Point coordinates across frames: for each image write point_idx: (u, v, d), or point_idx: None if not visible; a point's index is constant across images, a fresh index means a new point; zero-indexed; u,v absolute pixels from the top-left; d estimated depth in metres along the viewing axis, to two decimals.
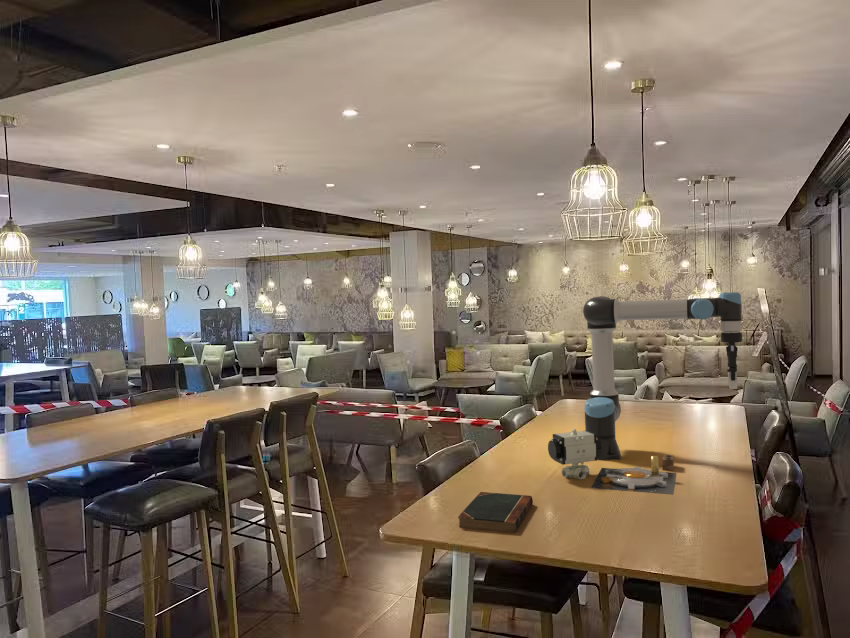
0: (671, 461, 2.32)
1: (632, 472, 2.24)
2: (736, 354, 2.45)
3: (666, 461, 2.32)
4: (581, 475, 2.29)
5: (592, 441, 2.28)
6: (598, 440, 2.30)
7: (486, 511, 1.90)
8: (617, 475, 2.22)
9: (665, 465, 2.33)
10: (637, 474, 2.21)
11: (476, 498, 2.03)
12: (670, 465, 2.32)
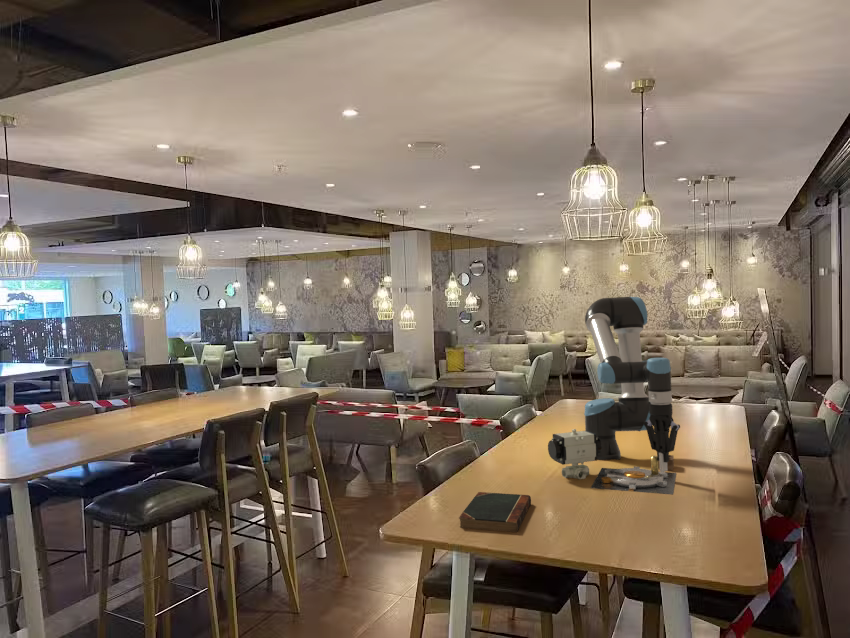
0: (671, 461, 2.32)
1: (632, 472, 2.24)
2: (654, 430, 2.21)
3: None
4: (581, 475, 2.29)
5: (592, 441, 2.28)
6: (598, 440, 2.30)
7: (487, 511, 1.90)
8: (617, 475, 2.22)
9: None
10: (637, 474, 2.21)
11: (475, 498, 2.03)
12: (670, 465, 2.32)
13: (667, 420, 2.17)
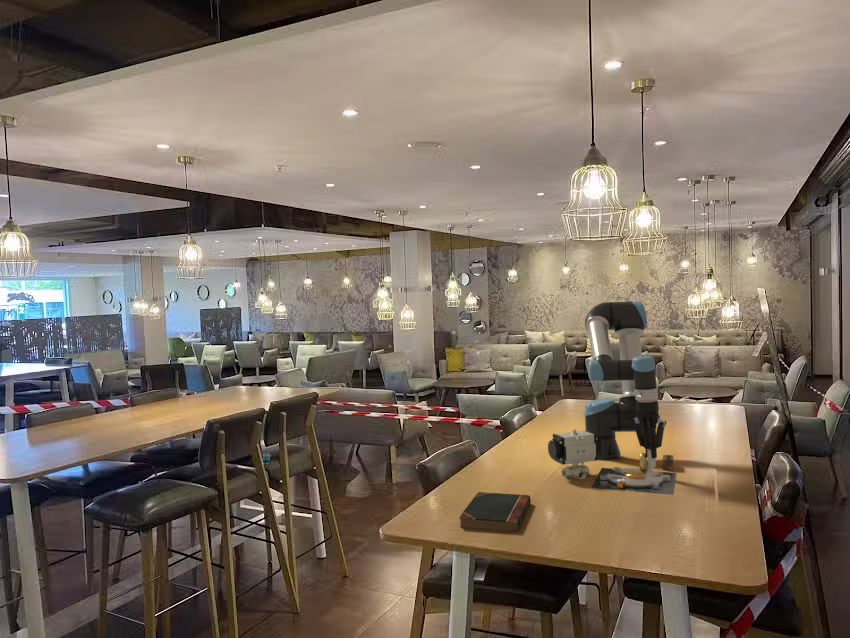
0: (671, 461, 2.32)
1: (630, 473, 2.23)
2: (642, 427, 2.25)
3: (666, 461, 2.32)
4: (581, 475, 2.29)
5: (592, 441, 2.28)
6: (598, 440, 2.30)
7: (487, 511, 1.90)
8: (624, 478, 2.19)
9: (665, 465, 2.33)
10: (638, 473, 2.22)
11: (475, 498, 2.03)
12: (670, 465, 2.32)
13: (654, 417, 2.22)
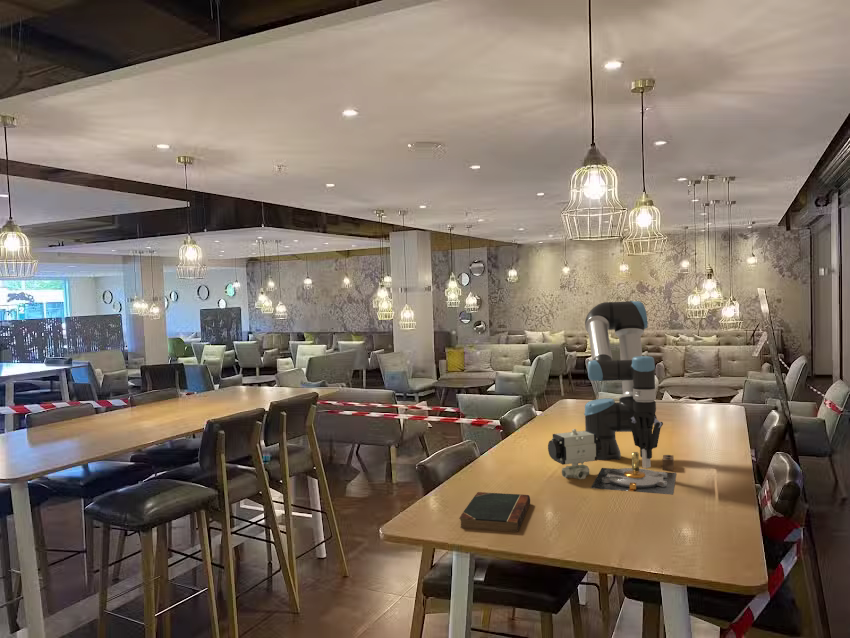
0: (671, 461, 2.32)
1: (630, 473, 2.23)
2: (638, 427, 2.26)
3: (666, 461, 2.32)
4: (581, 475, 2.29)
5: (592, 441, 2.28)
6: (598, 440, 2.30)
7: (487, 511, 1.90)
8: (630, 479, 2.17)
9: (665, 465, 2.33)
10: (638, 473, 2.22)
11: (474, 498, 2.03)
12: (670, 465, 2.32)
13: (650, 417, 2.22)
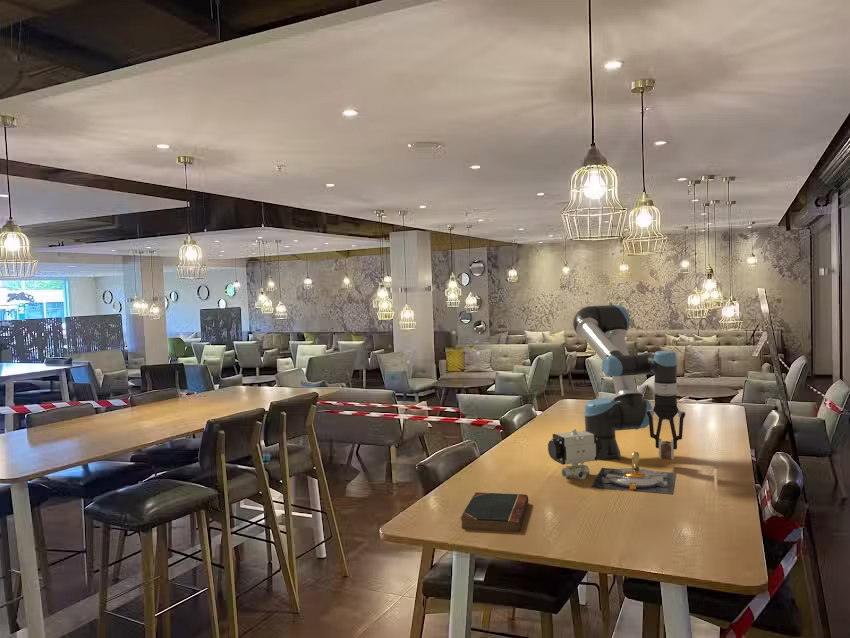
0: (670, 447, 2.32)
1: (630, 473, 2.23)
2: None
3: (665, 447, 2.33)
4: (581, 475, 2.29)
5: (592, 441, 2.28)
6: (598, 440, 2.30)
7: (487, 511, 1.90)
8: (630, 479, 2.17)
9: (664, 451, 2.33)
10: (638, 473, 2.22)
11: (473, 498, 2.03)
12: (669, 451, 2.32)
13: (674, 410, 2.30)
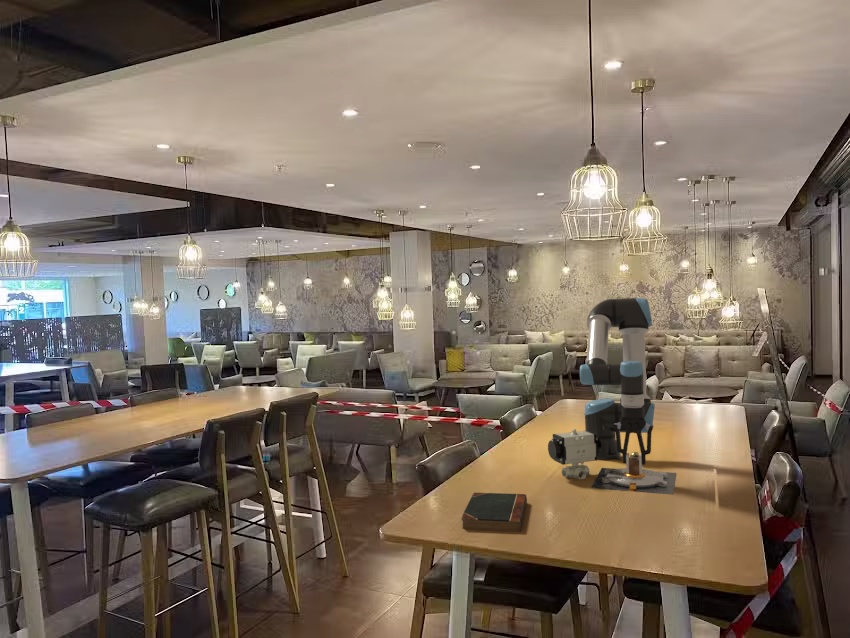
0: (638, 461, 2.20)
1: None
2: None
3: (632, 461, 2.21)
4: (581, 475, 2.29)
5: (592, 441, 2.28)
6: (598, 440, 2.30)
7: (488, 511, 1.90)
8: (630, 479, 2.17)
9: (631, 466, 2.21)
10: None
11: (472, 499, 2.03)
12: (637, 466, 2.21)
13: (642, 422, 2.19)
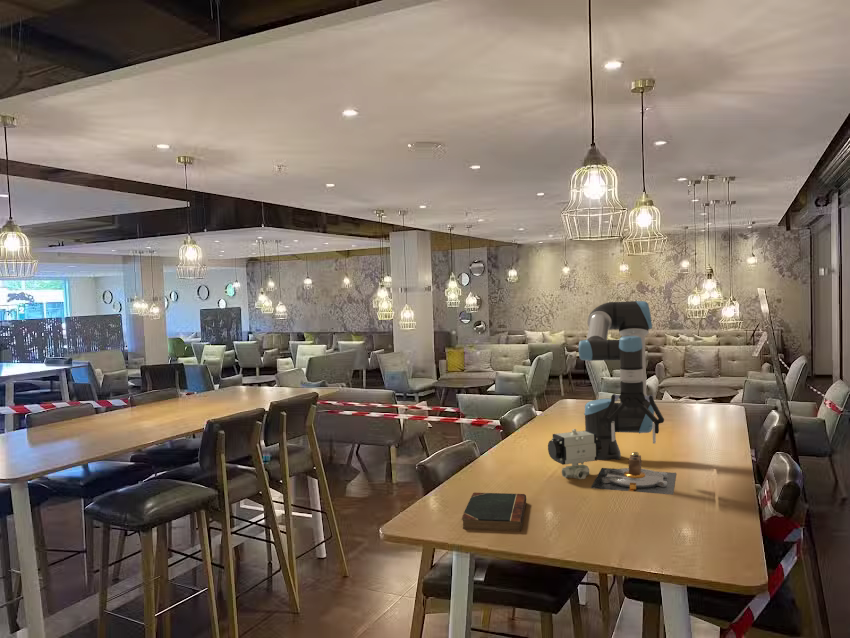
0: (638, 461, 2.20)
1: None
2: (620, 405, 2.22)
3: (632, 461, 2.21)
4: (581, 475, 2.29)
5: (592, 441, 2.28)
6: (598, 440, 2.30)
7: (488, 511, 1.90)
8: (630, 479, 2.17)
9: (631, 465, 2.21)
10: None
11: (472, 499, 2.03)
12: (637, 465, 2.21)
13: (640, 397, 2.19)
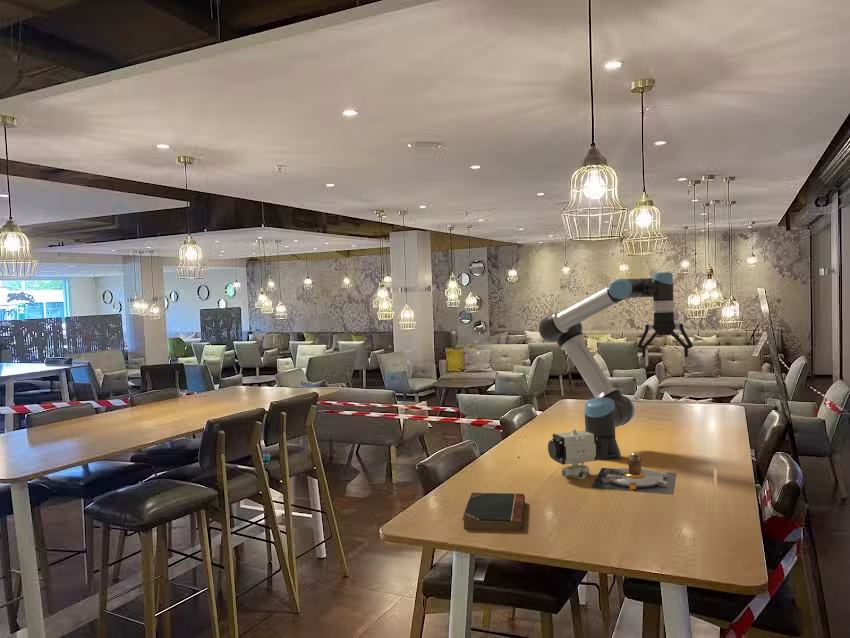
0: (638, 461, 2.20)
1: None
2: None
3: (632, 461, 2.21)
4: (581, 475, 2.29)
5: (592, 441, 2.28)
6: (598, 440, 2.30)
7: (488, 511, 1.90)
8: (630, 479, 2.17)
9: (631, 466, 2.21)
10: None
11: (471, 499, 2.02)
12: (637, 466, 2.21)
13: (672, 325, 2.49)
